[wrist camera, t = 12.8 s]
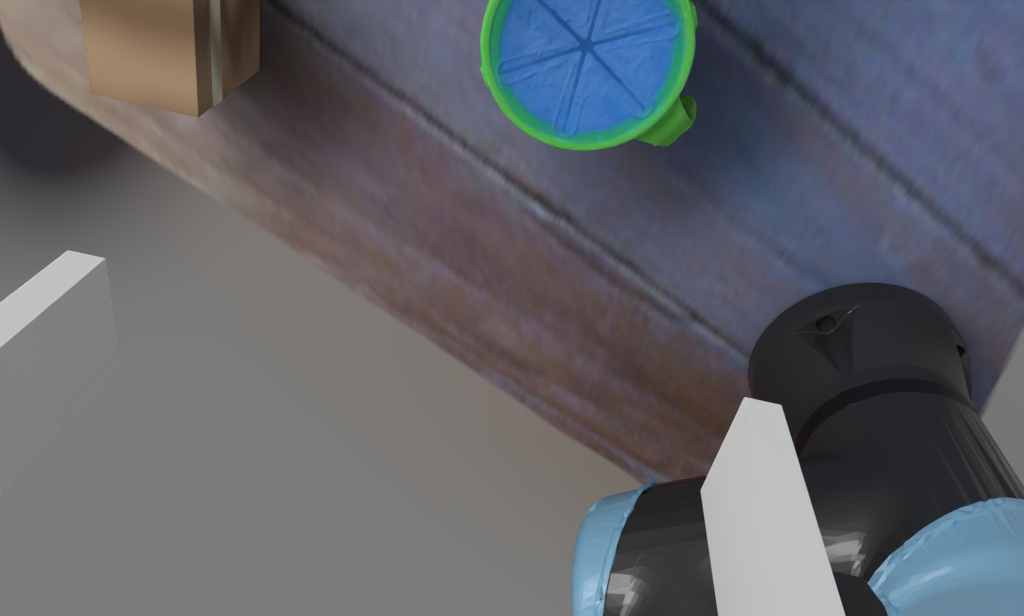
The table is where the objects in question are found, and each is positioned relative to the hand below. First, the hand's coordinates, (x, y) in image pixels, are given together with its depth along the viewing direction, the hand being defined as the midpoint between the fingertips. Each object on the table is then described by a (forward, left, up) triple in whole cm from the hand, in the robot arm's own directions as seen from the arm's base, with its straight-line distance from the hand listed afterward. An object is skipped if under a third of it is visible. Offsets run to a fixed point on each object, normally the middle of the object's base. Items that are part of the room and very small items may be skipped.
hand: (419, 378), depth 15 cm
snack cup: (+1, -3, -36) cm, 36 cm away
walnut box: (-3, +20, -36) cm, 41 cm away
